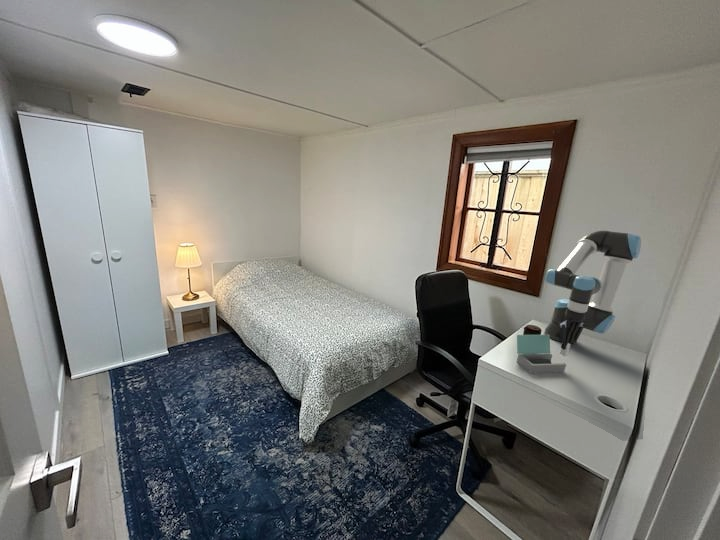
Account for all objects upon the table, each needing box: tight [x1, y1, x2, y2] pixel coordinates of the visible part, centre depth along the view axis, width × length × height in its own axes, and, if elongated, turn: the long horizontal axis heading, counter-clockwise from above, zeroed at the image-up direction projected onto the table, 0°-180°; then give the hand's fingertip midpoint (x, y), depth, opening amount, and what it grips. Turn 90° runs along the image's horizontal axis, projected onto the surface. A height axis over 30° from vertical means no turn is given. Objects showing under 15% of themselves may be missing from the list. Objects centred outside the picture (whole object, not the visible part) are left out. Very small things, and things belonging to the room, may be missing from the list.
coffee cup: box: [522, 324, 543, 335], centre depth 155 cm, size 9×8×13 cm
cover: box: [516, 334, 551, 355], centre depth 146 cm, size 18×9×1 cm
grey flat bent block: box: [516, 353, 567, 374], centre depth 141 cm, size 18×9×4 cm, turn 100°
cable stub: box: [529, 359, 553, 364], centre depth 142 cm, size 10×3×3 cm, turn 100°
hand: (563, 354), depth 142 cm, fingers closed
